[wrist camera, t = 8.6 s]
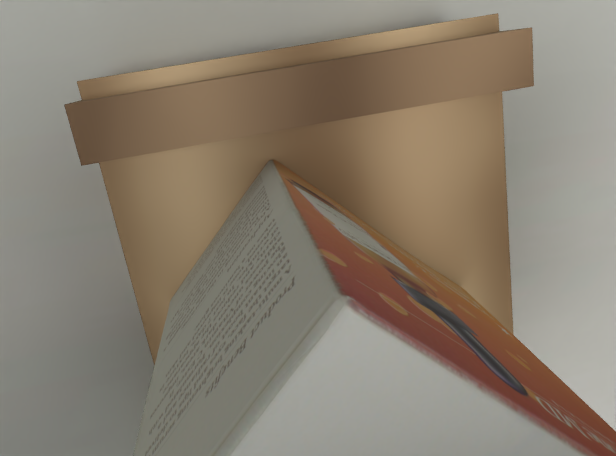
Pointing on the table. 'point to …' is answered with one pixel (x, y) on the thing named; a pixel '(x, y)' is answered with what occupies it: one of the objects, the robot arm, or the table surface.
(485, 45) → the wooden tray
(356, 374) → the small box
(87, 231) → the table surface
